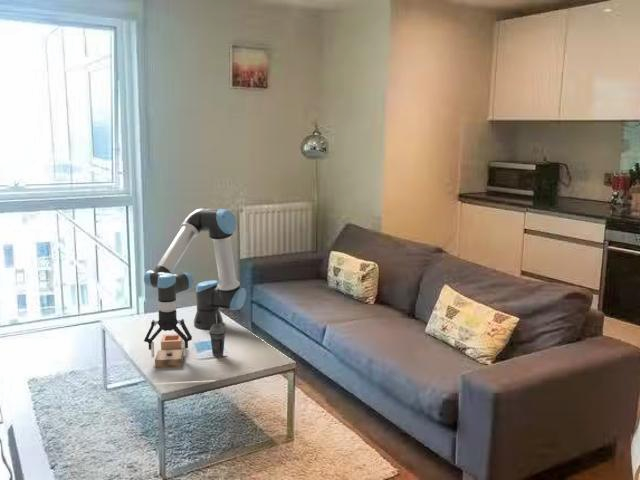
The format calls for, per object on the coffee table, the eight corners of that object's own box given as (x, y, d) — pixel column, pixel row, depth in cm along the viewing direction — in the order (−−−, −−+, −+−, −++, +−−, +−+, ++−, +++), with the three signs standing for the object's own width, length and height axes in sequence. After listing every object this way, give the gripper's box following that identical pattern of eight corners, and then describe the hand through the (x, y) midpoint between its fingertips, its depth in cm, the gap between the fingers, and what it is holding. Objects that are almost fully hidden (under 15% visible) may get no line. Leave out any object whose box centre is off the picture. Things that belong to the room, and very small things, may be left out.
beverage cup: (212, 360, 264) (211, 317, 261) (207, 354, 271) (206, 313, 267) (228, 357, 268) (227, 315, 264) (223, 351, 274) (222, 310, 270)
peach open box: (183, 348, 278) (182, 334, 277) (181, 355, 269) (181, 341, 268) (163, 349, 277) (163, 334, 275) (161, 356, 268) (160, 341, 267)
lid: (183, 356, 266) (183, 347, 266) (181, 366, 256) (180, 357, 255) (158, 357, 265) (157, 348, 264) (155, 367, 254) (154, 358, 253)
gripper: (197, 306, 261) (198, 351, 265) (139, 307, 257) (140, 353, 261) (196, 311, 254) (197, 358, 258) (136, 312, 250) (138, 360, 254)
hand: (168, 355), depth 259 cm, fingers open, 13 cm apart
